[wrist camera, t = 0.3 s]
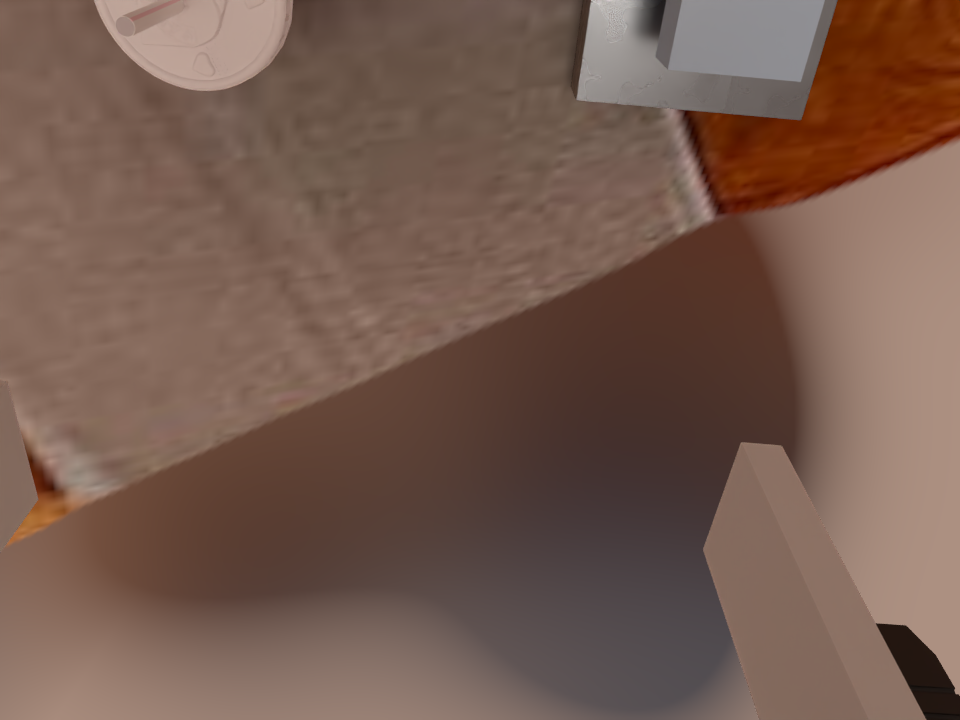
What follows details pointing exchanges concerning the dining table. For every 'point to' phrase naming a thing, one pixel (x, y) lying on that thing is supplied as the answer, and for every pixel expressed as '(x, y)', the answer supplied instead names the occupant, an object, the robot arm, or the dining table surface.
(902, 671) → the robot arm
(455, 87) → the dining table surface
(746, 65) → the blue key
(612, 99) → the console
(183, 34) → the smoothie
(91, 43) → the dining table surface
